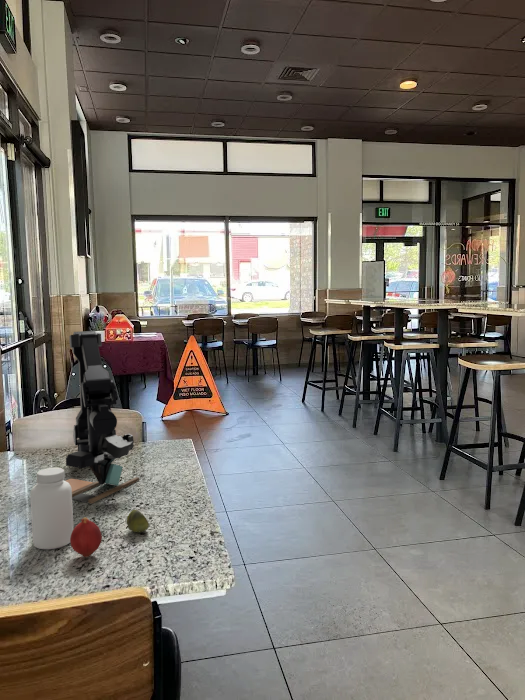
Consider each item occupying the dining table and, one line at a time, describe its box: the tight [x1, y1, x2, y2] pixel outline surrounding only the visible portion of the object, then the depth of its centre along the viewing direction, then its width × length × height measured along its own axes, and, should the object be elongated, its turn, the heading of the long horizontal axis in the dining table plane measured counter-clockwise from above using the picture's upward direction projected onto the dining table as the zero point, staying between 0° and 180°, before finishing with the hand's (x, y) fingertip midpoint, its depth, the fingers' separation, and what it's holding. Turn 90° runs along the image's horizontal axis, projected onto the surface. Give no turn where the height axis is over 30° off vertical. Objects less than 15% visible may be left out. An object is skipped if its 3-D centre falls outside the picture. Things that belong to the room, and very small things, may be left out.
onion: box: [69, 517, 103, 558], centre depth 108 cm, size 6×6×8 cm
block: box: [96, 463, 124, 486], centre depth 148 cm, size 4×4×5 cm
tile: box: [65, 478, 94, 492], centre depth 146 cm, size 8×8×1 cm
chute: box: [72, 476, 140, 504], centre depth 145 cm, size 8×18×1 cm, turn 154°
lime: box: [126, 509, 150, 533], centre depth 119 cm, size 4×5×5 cm
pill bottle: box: [29, 467, 74, 550], centre depth 114 cm, size 8×8×15 cm
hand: (102, 484), depth 145 cm, fingers closed
